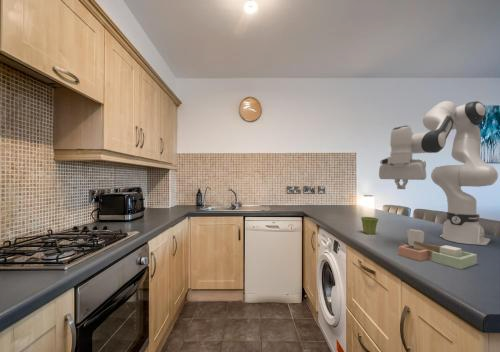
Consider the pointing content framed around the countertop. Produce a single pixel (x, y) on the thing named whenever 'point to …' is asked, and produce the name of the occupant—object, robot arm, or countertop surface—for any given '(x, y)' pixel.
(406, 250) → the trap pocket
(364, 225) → the plant pot
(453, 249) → the block
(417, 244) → the brown piece
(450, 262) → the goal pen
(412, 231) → the beige cube
